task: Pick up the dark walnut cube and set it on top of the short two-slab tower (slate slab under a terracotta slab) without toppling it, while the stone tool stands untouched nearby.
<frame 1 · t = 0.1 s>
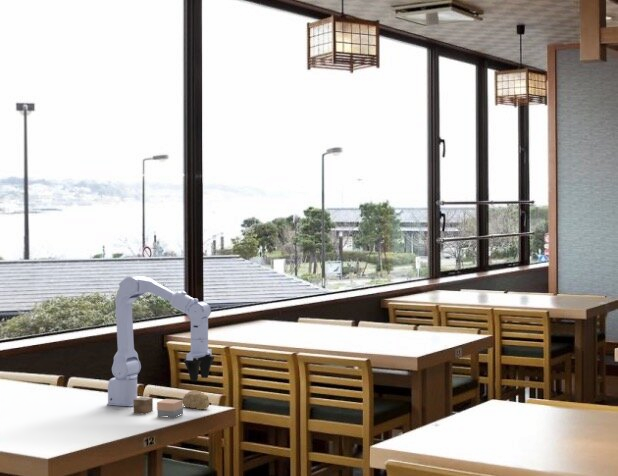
hand: (199, 379, 316), 10 cm above the table, fingers open, 7 cm apart
stone tool: (196, 408, 320), on the table
slab bottom: (170, 416, 306), on the table, touching slab top
slab top: (169, 408, 306), point 2 cm above the table, touching slab bottom
walnut block: (143, 412, 312), on the table
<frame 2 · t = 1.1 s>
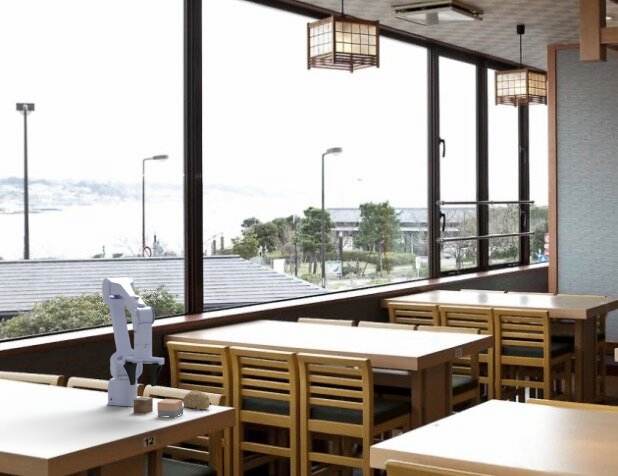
hand: (143, 385, 311), 9 cm above the table, fingers open, 7 cm apart
nothing on the table moved.
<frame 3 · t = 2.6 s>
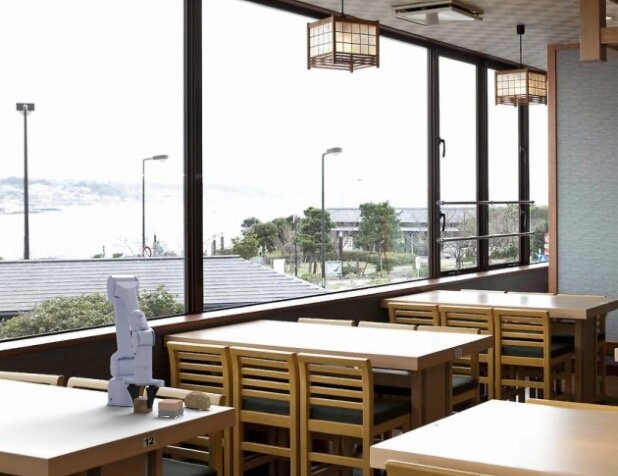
hand: (143, 407, 312), 1 cm above the table, fingers closed on walnut block, 4 cm apart
slab bottom: (170, 416, 306), on the table
slab top: (170, 408, 306), point 2 cm above the table
walnut block: (143, 412, 312), on the table, touching gripper
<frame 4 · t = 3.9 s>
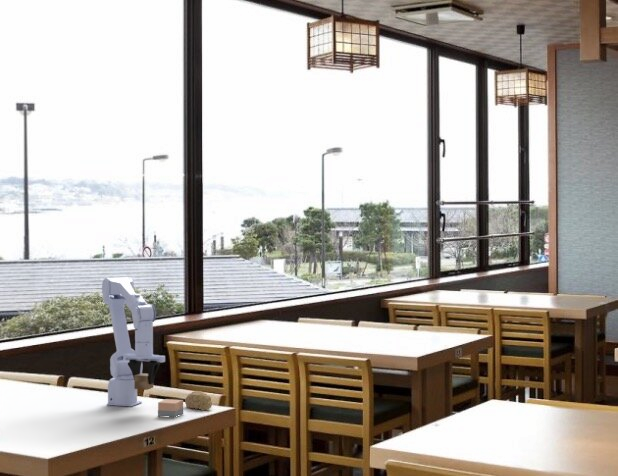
hand: (144, 383, 311), 9 cm above the table, fingers closed on walnut block, 4 cm apart
slab bottom: (170, 416, 306), on the table, touching slab top
slab top: (170, 409, 306), point 2 cm above the table, touching slab bottom
walnut block: (144, 388, 311), point 8 cm above the table, touching gripper
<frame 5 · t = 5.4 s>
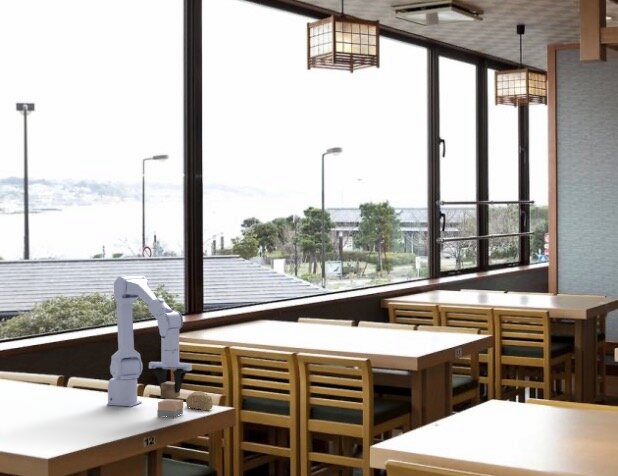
hand: (170, 391, 306), 8 cm above the table, fingers closed on walnut block, 4 cm apart
walnut block: (170, 396, 306), point 6 cm above the table, touching gripper
when the fingers open (8 cm above the table, at t = 5.8 s): walnut block drops 1 cm, resting on slab top.
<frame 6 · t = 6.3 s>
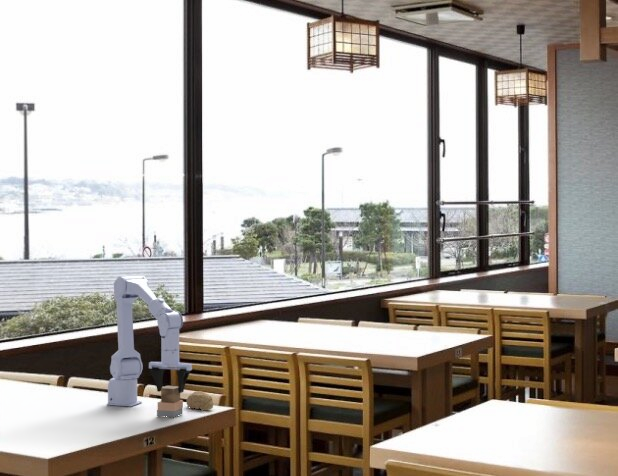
hand: (170, 391, 306), 8 cm above the table, fingers open, 7 cm apart
slab top: (170, 408, 306), point 2 cm above the table, touching slab bottom, walnut block
walnut block: (170, 401, 306), point 5 cm above the table, touching slab top
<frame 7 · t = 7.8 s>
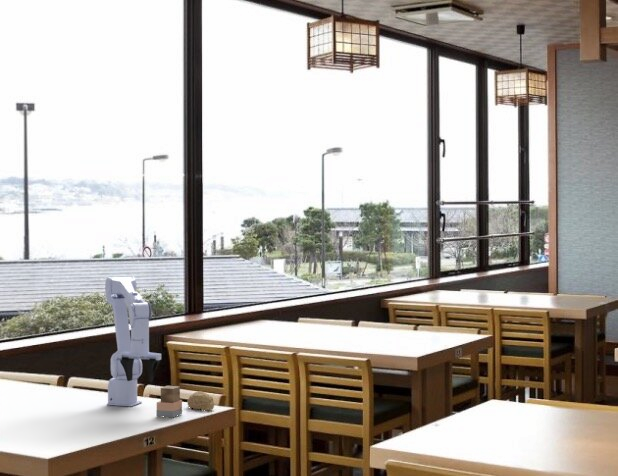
hand: (140, 381, 310), 10 cm above the table, fingers open, 7 cm apart
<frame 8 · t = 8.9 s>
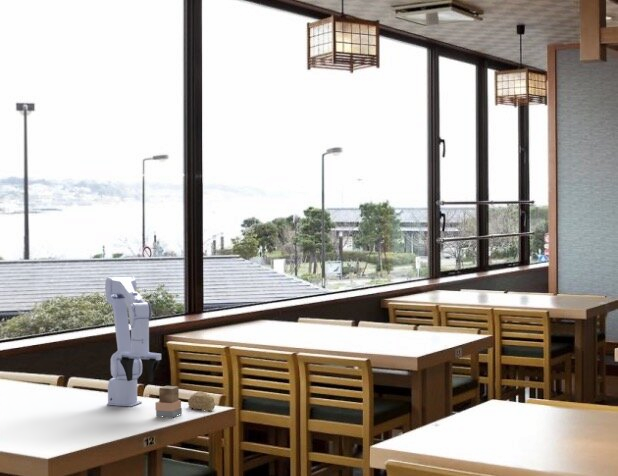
hand: (140, 381, 310), 10 cm above the table, fingers open, 7 cm apart
at the end: walnut block 0.2 cm off-centre on the slab top, point 2.5 cm above the slab top's base; slab top 0.1 cm off-centre on the slab bottom, point 2.5 cm above the slab bottom's base; walnut block tilted 0° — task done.
